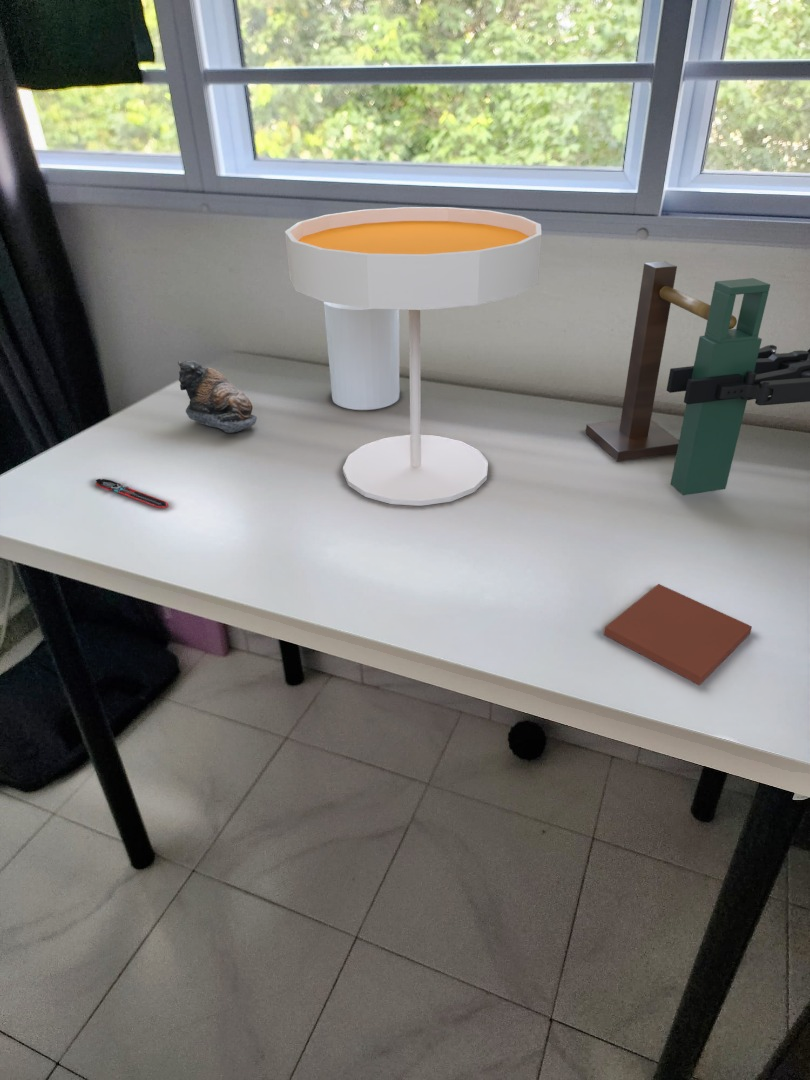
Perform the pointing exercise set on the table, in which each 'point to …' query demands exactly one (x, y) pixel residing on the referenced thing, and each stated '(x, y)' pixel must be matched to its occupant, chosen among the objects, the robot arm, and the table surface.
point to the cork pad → (678, 633)
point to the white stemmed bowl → (414, 315)
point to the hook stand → (646, 370)
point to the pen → (130, 493)
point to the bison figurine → (214, 398)
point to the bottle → (363, 355)
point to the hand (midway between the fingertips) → (679, 386)
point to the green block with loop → (719, 422)
